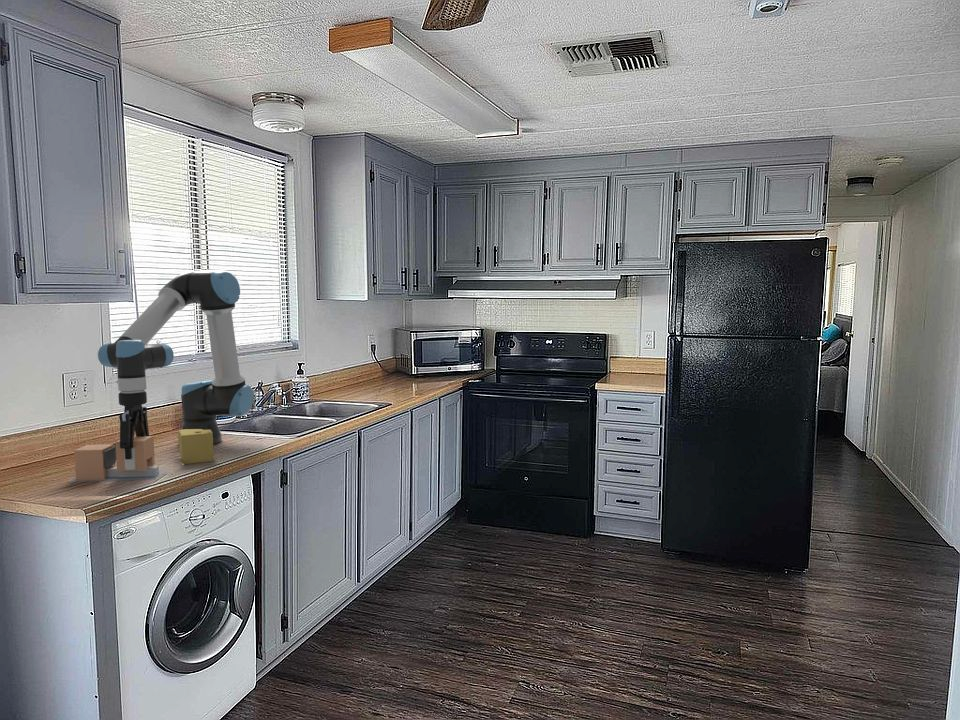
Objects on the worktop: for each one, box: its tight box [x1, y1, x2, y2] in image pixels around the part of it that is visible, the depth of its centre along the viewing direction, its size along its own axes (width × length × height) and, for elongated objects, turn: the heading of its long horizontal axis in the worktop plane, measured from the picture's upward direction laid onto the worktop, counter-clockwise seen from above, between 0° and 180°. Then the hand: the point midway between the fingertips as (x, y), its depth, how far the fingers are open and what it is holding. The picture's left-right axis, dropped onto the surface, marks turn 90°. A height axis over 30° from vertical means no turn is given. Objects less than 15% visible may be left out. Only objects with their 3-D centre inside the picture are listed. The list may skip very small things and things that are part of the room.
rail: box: [66, 465, 167, 484], centre depth 206 cm, size 10×25×4 cm, turn 94°
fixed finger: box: [73, 443, 117, 480], centre depth 205 cm, size 7×9×9 cm
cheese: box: [177, 429, 215, 465], centre depth 229 cm, size 10×11×10 cm
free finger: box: [114, 435, 156, 471], centre depth 205 cm, size 7×9×9 cm
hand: (136, 465), depth 206 cm, fingers closed on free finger, 7 cm apart
